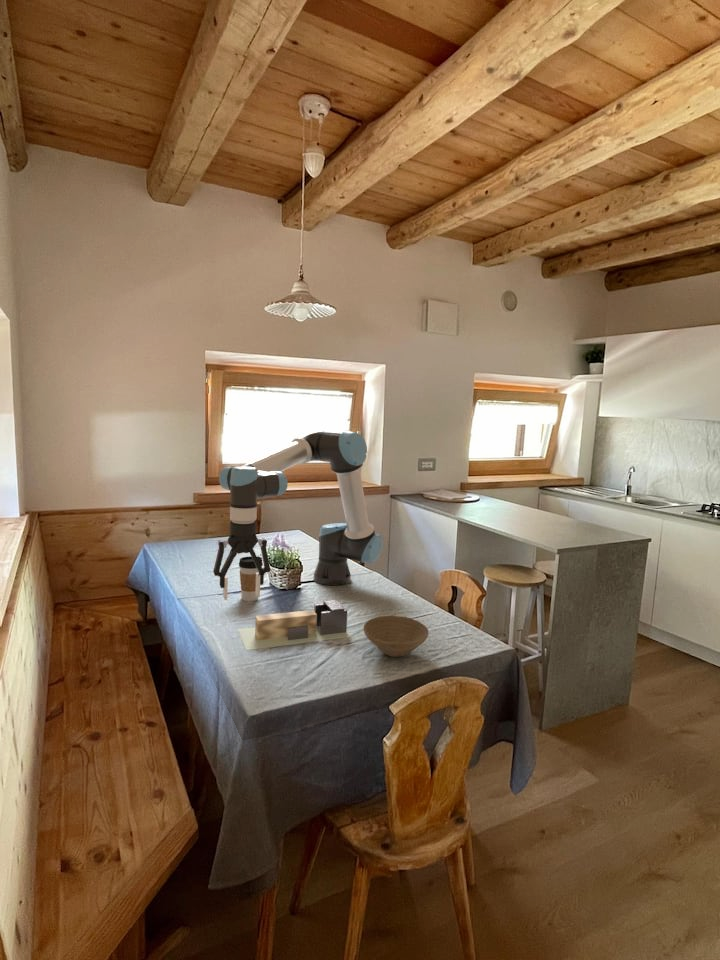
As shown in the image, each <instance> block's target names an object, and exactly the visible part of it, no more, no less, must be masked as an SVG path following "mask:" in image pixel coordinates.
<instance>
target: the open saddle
mask: <svg viewBox="0 0 720 960" xmlns="http://www.w3.org/2000/svg"><path fill="white" fill-rule="evenodd" d="M304 638H308V626H307V625H306V626H297V627H288V640H296V639H304Z"/></svg>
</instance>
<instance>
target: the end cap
mask: <svg viewBox="0 0 720 960" xmlns="http://www.w3.org/2000/svg"><path fill="white" fill-rule="evenodd" d="M313 606H314V610H313V611H314V612H315V613H316V614H317V624H316V626H321V627H320V634H321V635H327V634H335V633H344V632H346V631H347V628H348V609H346V607H345V606H343V604H342V603H340V601H337V600H336V599H330V600H323V603H322V602H321V603H315V604H314V605H313ZM347 632H348V631H347Z"/></svg>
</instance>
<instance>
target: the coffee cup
mask: <svg viewBox="0 0 720 960" xmlns="http://www.w3.org/2000/svg"><path fill="white" fill-rule="evenodd" d="M257 558H258V560H259V562H260V564H261V567H262V568H263V567H264V563H263V558H262V556H257ZM238 567H239V580H240V592H241V593H240V594H241V600H242V601H244V602H255V601H257V600H259V597H257V596H256V594H255V590H256V573H259V571H258V569H257V567H256V565H255V563H254V561H253V559H252V557H251V555H250V556H243V557H240V558H239V562H238Z"/></svg>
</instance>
